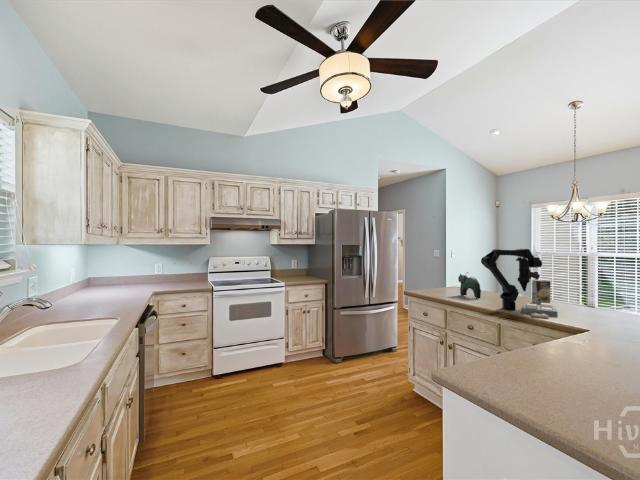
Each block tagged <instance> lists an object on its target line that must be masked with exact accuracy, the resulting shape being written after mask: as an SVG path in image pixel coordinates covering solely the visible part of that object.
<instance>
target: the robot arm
mask: <svg viewBox="0 0 640 480" xmlns="http://www.w3.org/2000/svg"><path fill="white" fill-rule="evenodd" d="M500 256H514V257H517V258H515V261H516V262H517V261H518V277H517V282H518V283H519V285H520V287H521V289H522V291H523V292H526V291H527V286H528V284H529V283H530V282H531V280H532V279H535V280H539V278H540V277H541V274H539V271H531V269H530V268H533V269H534V268H541V267H543V262H542V259H540V257H539V256H537V257H536V256H534V255H533V254H532V251H531V249H528V248H517V249H500V248H499V249H496V248H495V249H492V250H491V251H490V252H489V253H487V254H486V255H485V256H483V257H482V258H481V260H480V263H481V264H482V265H483V266H484V267H485V268H486V269H488V270H489V271H490V273H491V274H492V275H493V277H494V278H495V279H496V280H497V282H498V283H499V285H500V286H501V288H502V289H501V290H502V293H501V294H500V295H499V297H500V299H501V300H502V301H501V303H502V305H501V307H502V308H501V309H503V310H507V311H516V310H517V309H516V302H515V301H517V299H518V296H519V294H520V292H519V289H518V288H517V287H516V285H514V284H510V283H509V282H508V281H507V279H506V277H505V276H504V275H503V273H502V271H501V270H500V269H499V268H498V267H497V265H498V264H497V261H498V259H499V257H500Z"/></svg>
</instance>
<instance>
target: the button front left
mask: <svg viewBox="0 0 640 480" xmlns="http://www.w3.org/2000/svg"><path fill="white" fill-rule="evenodd" d="M526 304H527V308H531V309H537V305H538V304H536V303H526Z"/></svg>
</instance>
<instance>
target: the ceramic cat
mask: <svg viewBox="0 0 640 480" xmlns="http://www.w3.org/2000/svg"><path fill="white" fill-rule="evenodd" d="M467 274H468V275H470V273H469V272H468V271H466V273H465V274H464V275H463V274H462V273H460V274H459V276H458V279H457V280H458V282H459V283H460V289H459V291H460V294H461V295H467V292H468V290H469V289H470V290H471V291H472V292H473V296H474V298H475V297H476V298H480V299H481V297H482V296H481V295H482V290H481V285H480V284H481V283H480V282H479V281H478V279H477V278H476V277H474V276H470V277H468V275H467ZM461 295H460V296H461Z"/></svg>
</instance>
